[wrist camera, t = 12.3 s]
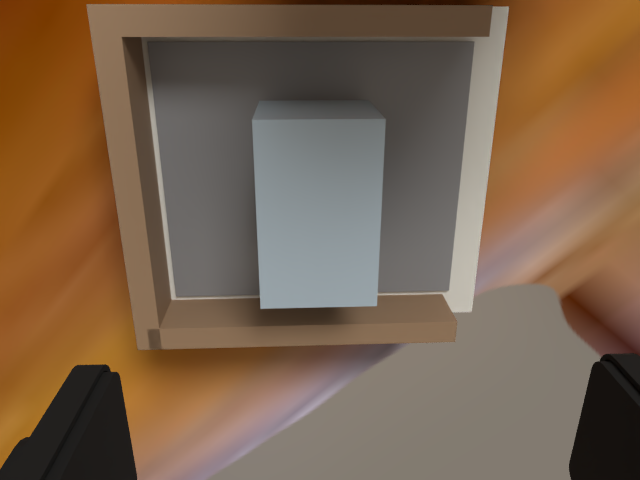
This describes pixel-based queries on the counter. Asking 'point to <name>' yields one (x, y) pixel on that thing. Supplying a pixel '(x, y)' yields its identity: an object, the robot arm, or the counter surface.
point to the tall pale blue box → (318, 202)
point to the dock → (238, 159)
